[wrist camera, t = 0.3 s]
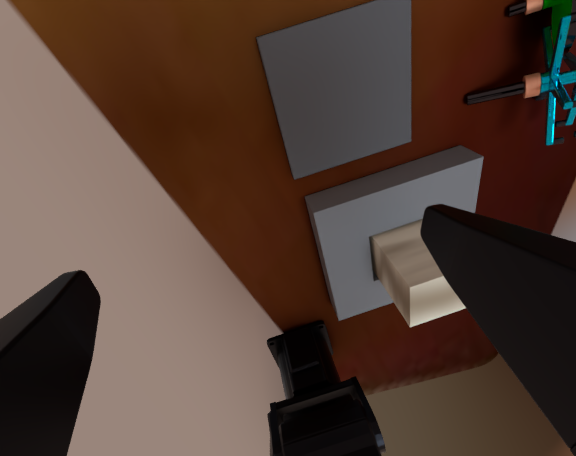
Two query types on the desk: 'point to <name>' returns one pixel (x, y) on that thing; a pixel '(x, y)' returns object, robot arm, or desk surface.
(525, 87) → the stick construction toy
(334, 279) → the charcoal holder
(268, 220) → the desk surface
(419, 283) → the cream block
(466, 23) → the desk surface
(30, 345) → the robot arm
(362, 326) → the desk surface
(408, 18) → the dark gray panel
